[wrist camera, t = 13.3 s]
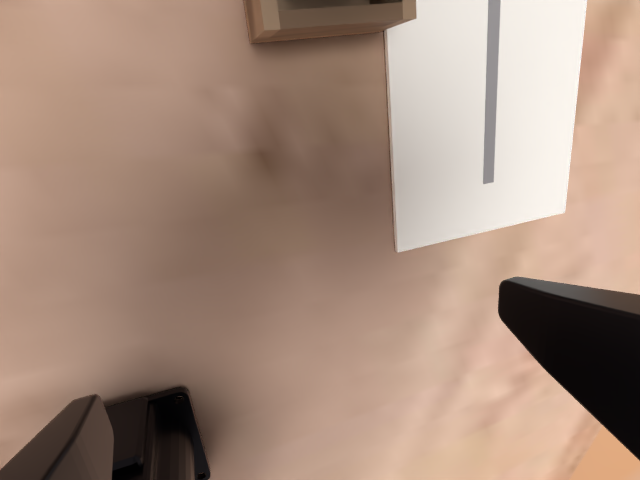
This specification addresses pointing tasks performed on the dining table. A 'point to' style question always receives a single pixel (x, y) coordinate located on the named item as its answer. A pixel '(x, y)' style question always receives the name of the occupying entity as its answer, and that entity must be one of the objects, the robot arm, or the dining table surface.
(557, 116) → the paper
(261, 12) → the brown square frame
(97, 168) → the dining table surface
